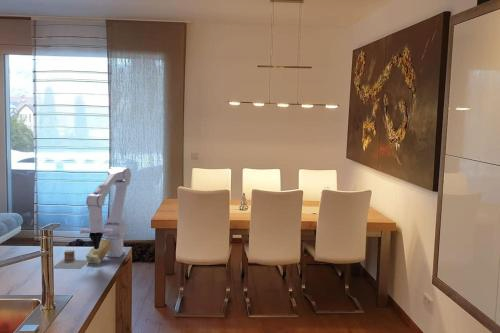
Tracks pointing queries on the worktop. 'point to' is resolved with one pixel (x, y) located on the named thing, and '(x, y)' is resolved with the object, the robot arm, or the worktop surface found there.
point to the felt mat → (71, 264)
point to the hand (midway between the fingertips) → (96, 248)
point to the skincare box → (99, 252)
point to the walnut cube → (69, 255)
